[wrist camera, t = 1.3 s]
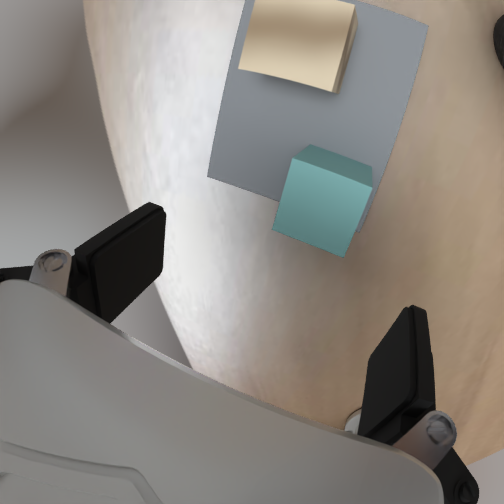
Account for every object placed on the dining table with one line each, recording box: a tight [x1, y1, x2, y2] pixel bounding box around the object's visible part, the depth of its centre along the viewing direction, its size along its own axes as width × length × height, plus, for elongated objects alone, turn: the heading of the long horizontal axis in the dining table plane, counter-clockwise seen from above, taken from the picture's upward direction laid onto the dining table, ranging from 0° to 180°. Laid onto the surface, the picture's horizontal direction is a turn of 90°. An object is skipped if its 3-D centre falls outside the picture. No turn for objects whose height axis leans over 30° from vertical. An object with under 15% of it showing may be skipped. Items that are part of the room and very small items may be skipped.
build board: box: [207, 0, 428, 232], centre depth 21 cm, size 18×14×1 cm
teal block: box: [272, 144, 373, 258], centre depth 21 cm, size 5×5×6 cm
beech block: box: [238, 0, 358, 94], centre depth 17 cm, size 6×6×5 cm
